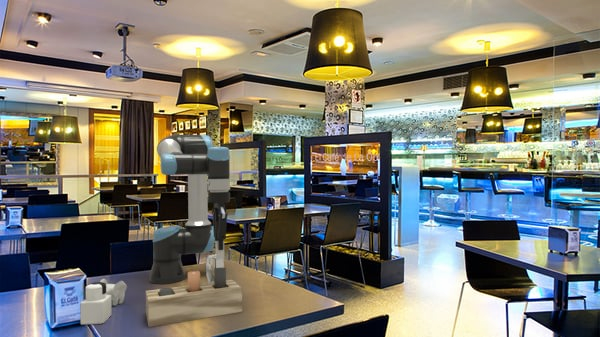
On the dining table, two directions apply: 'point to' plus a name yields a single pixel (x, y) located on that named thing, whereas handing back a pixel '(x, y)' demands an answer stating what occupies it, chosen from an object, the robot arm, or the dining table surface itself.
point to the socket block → (192, 303)
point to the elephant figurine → (115, 292)
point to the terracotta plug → (193, 281)
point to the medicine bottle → (95, 304)
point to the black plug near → (166, 291)
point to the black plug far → (219, 278)
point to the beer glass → (212, 266)
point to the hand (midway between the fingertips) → (220, 258)
